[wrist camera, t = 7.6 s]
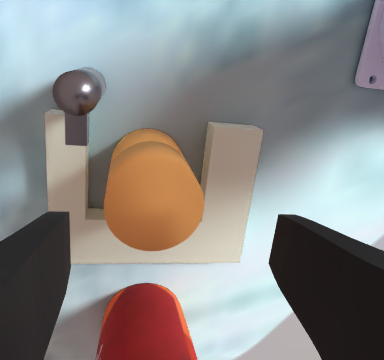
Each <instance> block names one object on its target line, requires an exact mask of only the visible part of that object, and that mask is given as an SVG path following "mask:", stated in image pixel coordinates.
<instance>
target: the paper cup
mask: <svg viewBox="0 0 384 360" xmlns="http://www.w3.org/2000/svg"><path fill="white" fill-rule="evenodd" d="M96 360H197V356H196V353H195V350H194V346H193V343H192V340H191V337H190V333H189V330H188V327H187V324H186V321H185V318H184V315H183V312H182V309H181V306H180V303H179V301H178V299H177V297H176V296H175V295H174V294H173V293H172V292H171V291H170V290H169V289H167V288H165V287H163V286H161V285H158V284H152V283H141V284H135V285H132V286H129V287H127V288H125V289H123V290H121V291H120V292H118V293H117V294H116V295H115V296H114V297H113V298H112V299H111V300H110V302H109V304H108V306H107V308H106V311H105V314H104V318H103V323H102V328H101V333H100V339H99V344H98V350H97V355H96Z"/></svg>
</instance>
